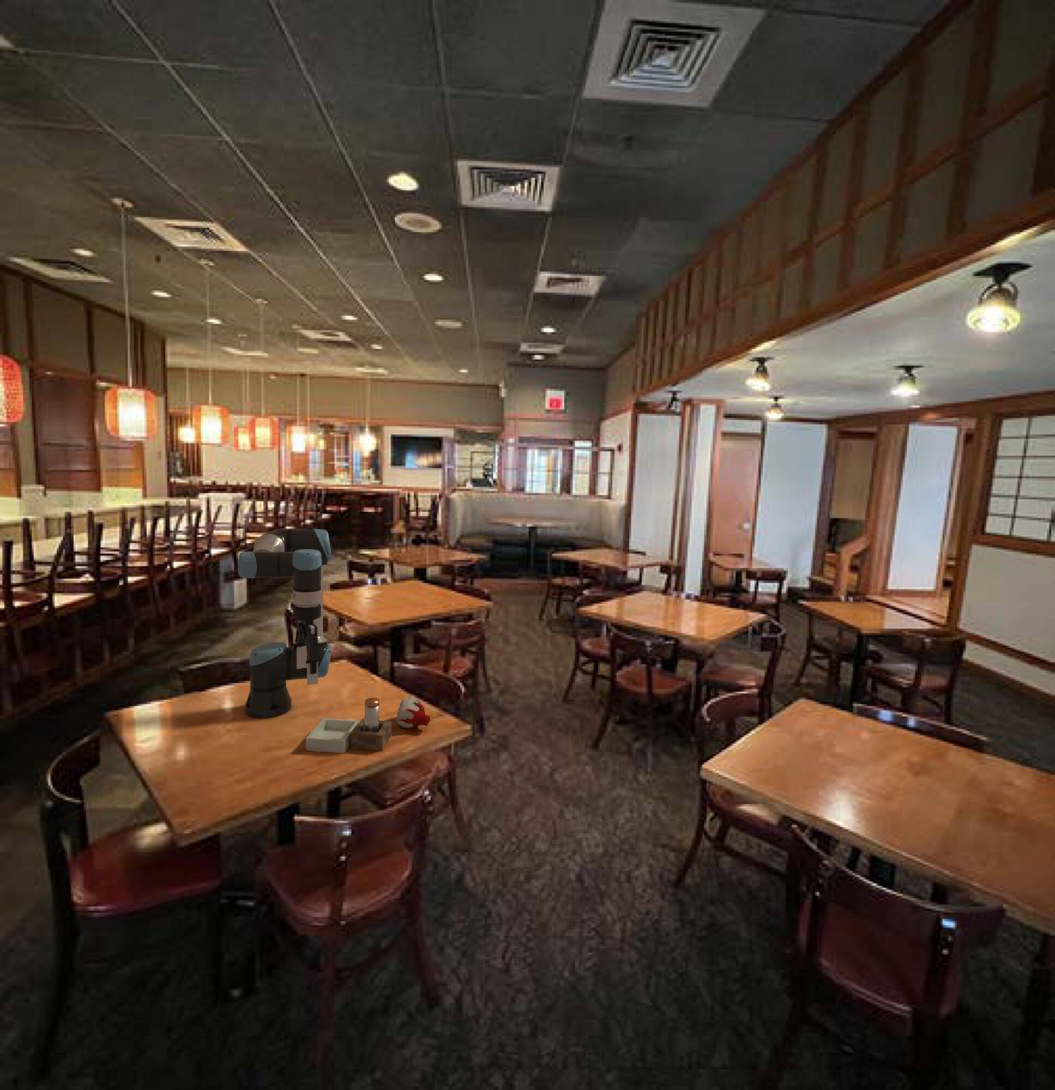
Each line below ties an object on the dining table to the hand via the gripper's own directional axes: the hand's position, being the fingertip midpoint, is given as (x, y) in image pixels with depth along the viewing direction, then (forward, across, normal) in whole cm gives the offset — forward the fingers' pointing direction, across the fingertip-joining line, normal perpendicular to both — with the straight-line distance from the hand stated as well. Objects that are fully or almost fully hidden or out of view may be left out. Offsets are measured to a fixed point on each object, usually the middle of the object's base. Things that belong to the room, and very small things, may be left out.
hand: (306, 675), depth 159 cm
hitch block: (+27, -4, +21) cm, 34 cm away
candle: (+28, -8, +36) cm, 46 cm away
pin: (+27, -4, +21) cm, 34 cm away
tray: (+27, -10, +10) cm, 31 cm away
